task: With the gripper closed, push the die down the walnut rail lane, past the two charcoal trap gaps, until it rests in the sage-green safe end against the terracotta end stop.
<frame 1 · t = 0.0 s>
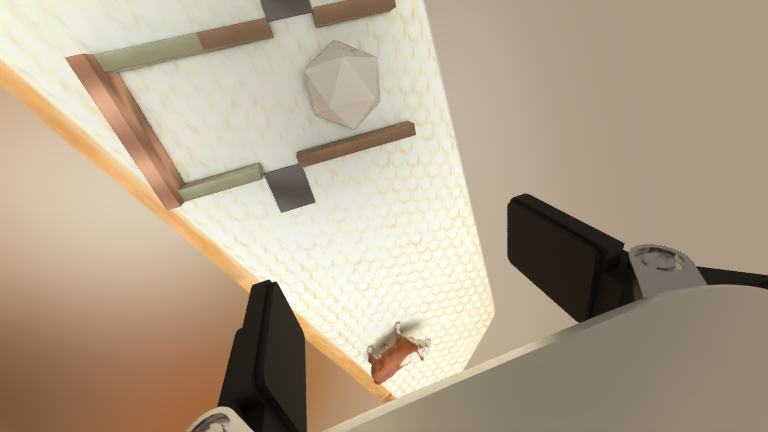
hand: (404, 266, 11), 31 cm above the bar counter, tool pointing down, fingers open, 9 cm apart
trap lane: (278, 101, 35), on the bar counter
bull figurine: (391, 334, 58), on the bar counter
die: (340, 85, 36), on the bar counter
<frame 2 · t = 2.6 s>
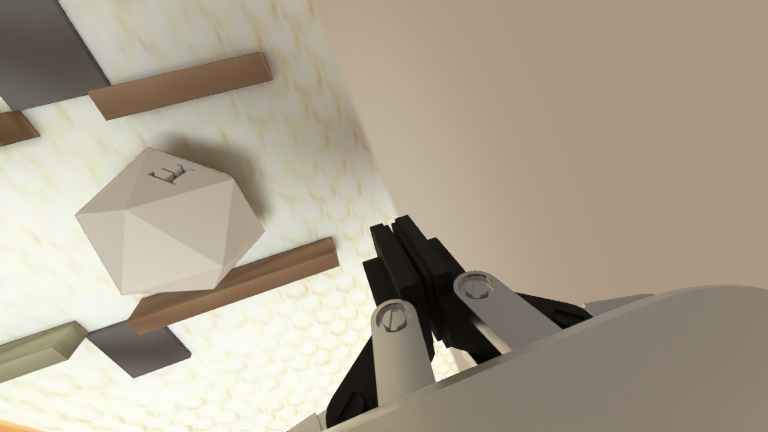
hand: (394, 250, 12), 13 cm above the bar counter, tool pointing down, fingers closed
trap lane: (83, 234, 20), on the bar counter
die: (201, 199, 21), on the bar counter
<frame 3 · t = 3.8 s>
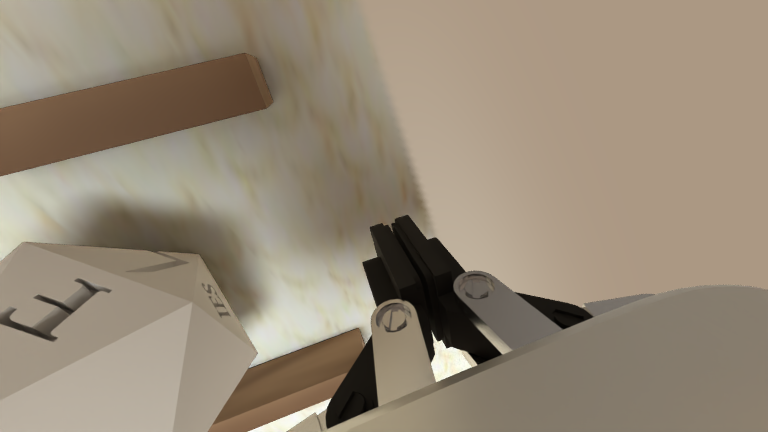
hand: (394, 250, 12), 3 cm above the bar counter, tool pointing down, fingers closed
die: (156, 292, 13), on the bar counter
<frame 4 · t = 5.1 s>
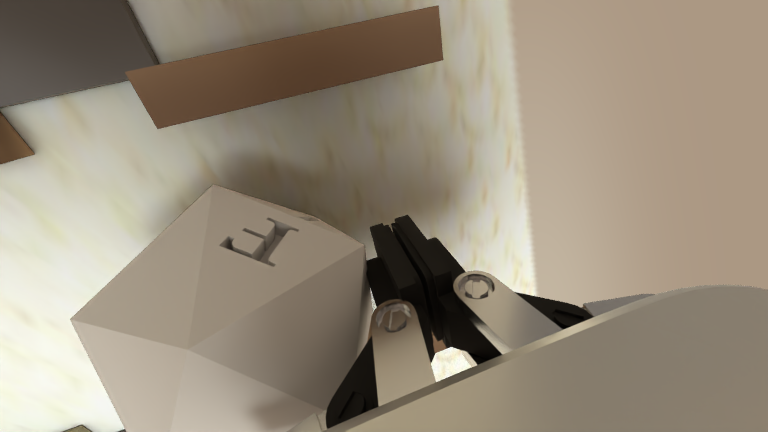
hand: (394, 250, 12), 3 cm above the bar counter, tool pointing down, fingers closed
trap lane: (100, 307, 13), on the bar counter
die: (269, 253, 14), on the bar counter, touching gripper
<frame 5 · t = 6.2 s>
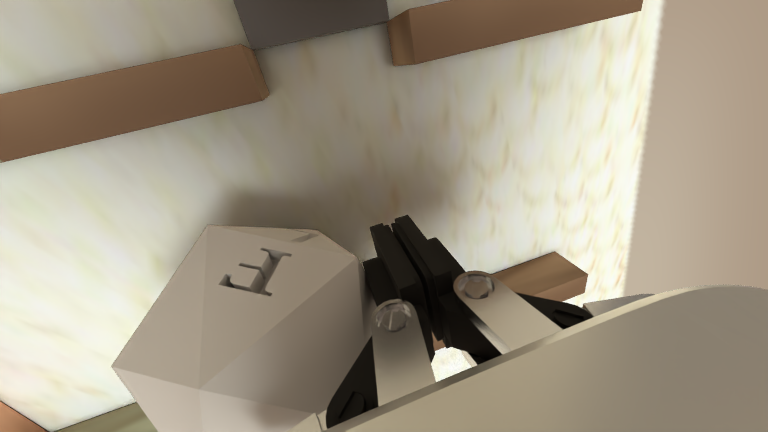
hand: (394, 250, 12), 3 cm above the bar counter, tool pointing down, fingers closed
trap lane: (280, 248, 14), on the bar counter
die: (282, 270, 14), on the bar counter, touching gripper
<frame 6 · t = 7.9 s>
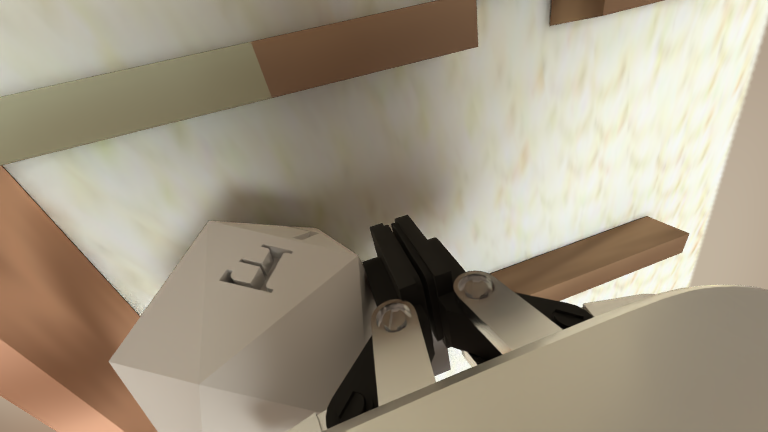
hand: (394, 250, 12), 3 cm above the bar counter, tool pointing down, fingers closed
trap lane: (422, 202, 15), on the bar counter
die: (281, 268, 14), on the bar counter, touching gripper
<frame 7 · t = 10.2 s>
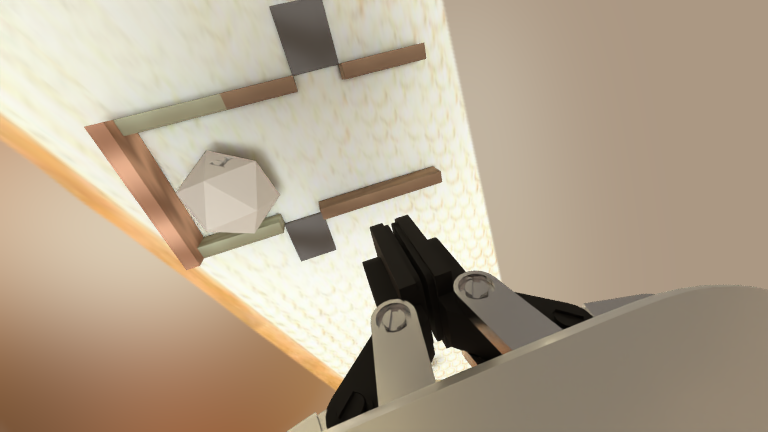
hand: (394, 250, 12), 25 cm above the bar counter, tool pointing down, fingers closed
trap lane: (300, 153, 34), on the bar counter
die: (238, 181, 33), on the bar counter
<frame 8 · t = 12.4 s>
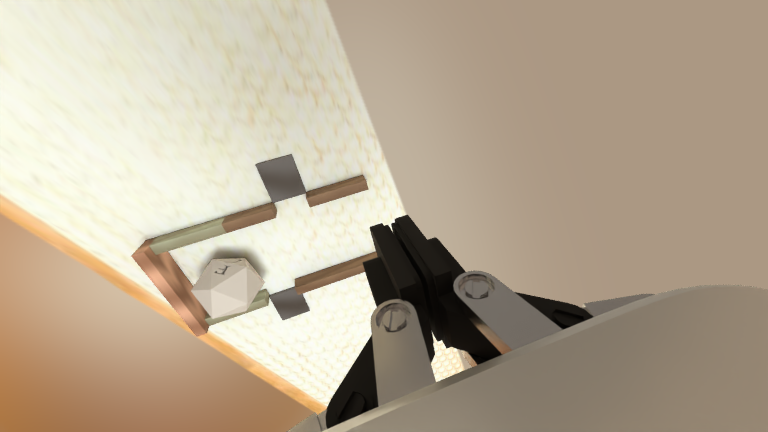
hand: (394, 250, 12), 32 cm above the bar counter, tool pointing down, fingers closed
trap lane: (280, 249, 46), on the bar counter
die: (234, 270, 46), on the bar counter
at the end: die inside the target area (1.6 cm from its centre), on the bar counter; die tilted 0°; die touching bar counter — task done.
